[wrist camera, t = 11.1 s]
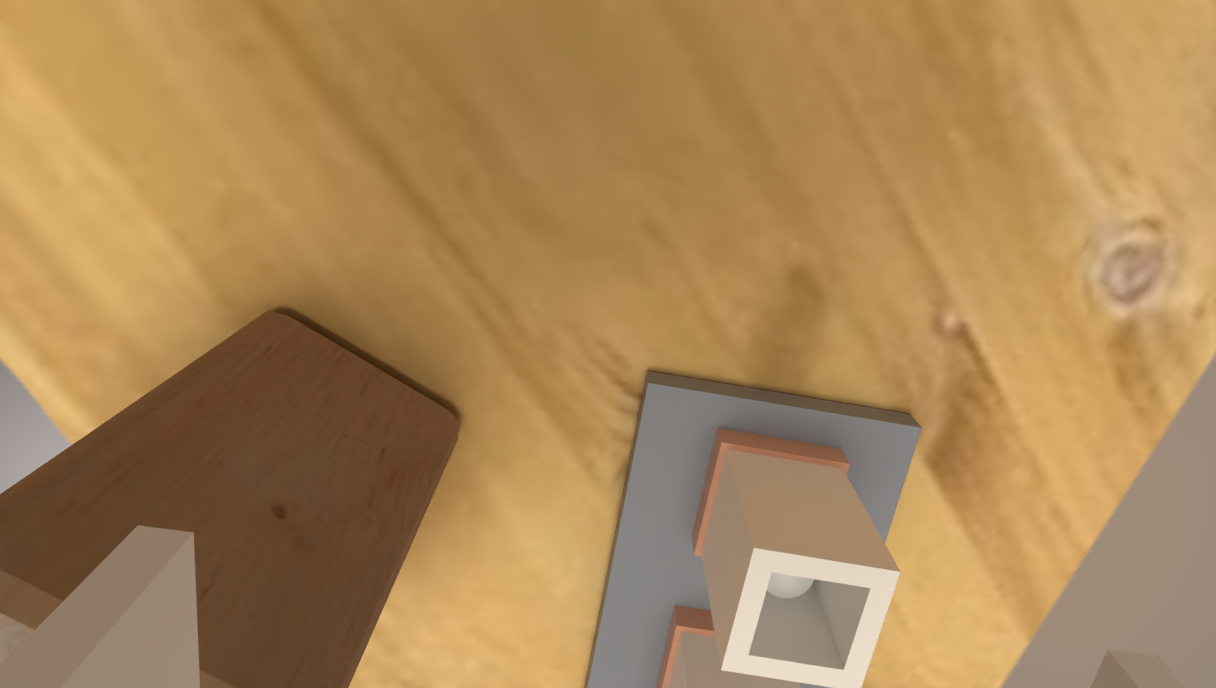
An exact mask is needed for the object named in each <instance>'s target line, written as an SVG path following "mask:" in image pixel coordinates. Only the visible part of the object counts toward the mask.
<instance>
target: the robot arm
mask: <svg viewBox="0 0 1216 688" xmlns="http://www.w3.org/2000/svg"><path fill="white" fill-rule="evenodd" d="M0 688H200V674H199V650H198V625H197V601H196V576H195V552H194V532H186V531H178V530H170V529H162V528H155V527H147V526H139V525H138V526H137V527H136V528H135V529H134V530H133V531H132V532H131V533H130V534H129V535H128V536H127V537H126V538H125V539H124V540H123V541H122V542H121V543H120V544H119V545H118V546H117V547H116V548H115V549H114V550H113V551H112V552H111V553H110V554H109V555H108V556H107V557H106V558H105V559H104V560H103V561H102V562H101V563H100V564H99V565H98V566H97V568H96V569H95V570H94V571H93V572H92V573H91V574H90V575H89V576H88V577H87V578H86V579H85V580H84V581H83V582H82V583H81V584H80V585H79V586H78V587H77V588H76V589H75V590H74V591H73V592H72V593H71V594H70V595H69V596H68V597H67V598H66V599H65V600H64V601H63V602H62V603H61V604H60V605H59V606H58V607H57V608H56V609H55V610H54V611H53V612H52V613H51V614H50V615H49V616H48V617H47V618H46V619H45V620H44V621H43V622H42V623H41V624H40V625H39V626H38V627H37V629H36V630H35V631H34V632H33V633H32V634H31V635H30V636H29V637H28V638H27V639H26V640H25V641H24V642H23V643H22V644H21V645H20V646H19V647H18V648H17V649H16V650H15V651H14V652H13V653H12V654H11V655H10V656H9V657H8V658H7V659H6V660H5V661H4V662H3V663H2V664H1V665H0ZM1091 688H1186V686H1185V685H1184V684H1183V683H1182V682H1181V681H1180V679H1179V678H1178V677H1177V676H1176V675H1175V674H1174V673H1173V671H1172V670H1171V669H1170V668H1169V667H1168V666H1167V665H1166V663H1164V661H1163V660H1162V659H1161V658H1160V656H1157V655H1149V654H1141V653H1133V652H1125V651H1117V650H1110V649H1108V650H1107V653H1106V655H1105V657H1104V659H1103V662H1102V664H1101V666H1100V668H1099V671H1098V673H1097V675H1096V677H1095V680H1094V682H1093V684H1092V686H1091Z"/></svg>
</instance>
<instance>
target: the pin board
mask: <svg viewBox="0 0 1216 688" xmlns="http://www.w3.org/2000/svg"><path fill="white" fill-rule="evenodd" d="M717 427H718V428H724V429H730V430H736V431H742V432H748V433H754V434H760V435H766V436H771V437H777V438H783V439H789V440H795V441H801V442H807V443H813V444H819V445H825V446H830V447H836V448H841V449H842V451H843V453H844V454H845V456H846V458H847V460H848V461H849V463H850V466H849V469H848V472H847V477H848V479H849V480H850V482H851V484H852V486H853V488H854V489H855V491H856V493H857V495H858V497H859V498H860V500H861V502H862V504H863V506H864V507H865V509H866V511H867V513H868V515H869V516H870V518H871V520H872V522H873V524H874V525H875V527H876V529H877V531H878V532H879V534H880V536H881V538H882V540H883V541H884V543H885V541H886V538H887V535H888V532H889V529H890V525H891V522H892V519H893V516H894V513H895V510H896V507H897V503H898V500H899V497H900V494H901V491H902V488H903V485H904V481H905V478H906V475H907V472H908V469H909V466H910V463H911V460H912V456H913V453H914V450H915V447H916V444H917V441H918V438H919V434H920V431H921V426H920V425H919V424H918V423H917V422H916V420H915V419H914V418H913V417H912V416H911V414H908V413H901V412H895V411H889V410H883V409H877V408H871V407H865V406H859V405H853V404H847V403H841V402H835V401H829V400H822V399H816V398H810V397H804V396H798V395H792V394H786V393H780V392H774V391H768V390H762V389H756V388H750V387H743V386H737V385H731V384H725V383H719V382H713V381H707V380H701V379H695V378H689V377H683V376H677V375H671V374H665V373H658V372H652V371H647V374H646V379H645V384H644V389H643V394H642V399H641V404H640V409H639V414H638V419H637V424H636V430H635V435H634V440H633V445H632V450H631V455H630V460H629V465H628V470H627V475H626V480H625V485H624V490H623V495H622V500H621V505H620V510H619V516H618V521H617V526H616V531H615V536H614V541H613V546H612V551H611V556H610V561H609V566H608V571H607V576H606V581H605V586H604V591H603V597H602V602H601V607H600V612H599V617H598V622H597V627H596V632H595V637H594V642H593V647H592V652H591V657H590V662H589V667H588V672H587V678H586V683H585V688H655V687H656V683H657V678H658V674H659V670H660V665H661V661H662V657H663V652H664V648H665V644H666V639H667V635H668V631H669V626H670V622H671V618H672V614H673V609H674V605H678V606H685V607H691V608H698V609H704V610H711V608H710V602H709V596H708V590H707V584H706V578H705V573H704V567H703V561H702V556H698V555H694V551H693V545H692V538H691V535H692V531H693V527H694V523H695V519H696V515H697V510H698V506H699V502H700V498H701V494H702V490H703V486H704V481H705V477H706V473H707V469H708V465H709V461H710V456H711V452H712V448H713V444H714V440H715V436H716V432H717ZM813 582H814V579H810V578H804V577H798V576H792V575H786V574H780V573H774V572H772V573H771V577H770V580H769V584H768V587H767V591H768V592H769V593H770V594H772V595H774V596H776V597H779V598H785V599H786V598H794V597H798V596H800V595H802V594H804V593H805V592H806V591H807V590H808V589H809V588H810V587H811V586H812V584H813ZM799 684H800V687H801V688H832V687H825V686H819V685H812V684H806V683H800V682H799Z"/></svg>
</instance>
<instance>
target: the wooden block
mask: <svg viewBox="0 0 1216 688" xmlns="http://www.w3.org/2000/svg"><path fill="white" fill-rule="evenodd" d="M458 431H459V422H458V419H457V418H456V417H455V416H454V415H453V414H452V413H451V412H450V411H449V410H448V409H446V408H445V407H443V406H441V405H439V404H438V403H436V402H434V401H433V400H431V399H429V398H428V397H426V396H424V395H423V394H421V393H419V392H417V391H416V390H414V389H412V388H411V387H409V386H407V385H406V384H404V383H402V382H400V381H399V380H397V379H395V378H394V377H392V376H390V375H389V374H387V373H385V372H383V371H382V370H380V369H378V368H377V367H375V366H373V365H372V364H370V363H368V362H366V361H365V360H363V359H361V358H360V357H358V356H356V355H355V354H353V353H351V352H349V351H348V350H346V349H344V348H343V347H341V346H339V345H338V344H336V343H334V342H333V341H331V340H329V339H327V338H326V337H324V336H322V335H321V334H319V333H317V332H316V331H314V330H312V329H310V328H309V327H307V326H305V325H304V324H302V323H300V322H299V321H297V320H295V319H293V318H292V317H290V316H288V315H285V314H281V313H277V312H270V311H267V312H265V313H264V314H262V315H261V316H259V317H258V318H257V319H255V320H254V321H252V322H251V323H249V324H248V325H246V326H245V327H243V328H242V329H241V330H239V331H238V332H236V333H235V334H233V335H232V336H230V337H229V338H227V339H226V340H224V341H223V342H222V343H220V344H219V345H217V346H216V347H214V348H213V349H211V350H210V351H208V352H207V353H206V354H204V355H203V356H201V357H200V358H198V359H197V360H195V361H194V362H192V363H191V364H189V365H188V366H187V367H185V368H184V369H182V370H181V371H179V372H178V373H176V374H175V375H173V376H172V377H171V378H169V379H168V380H166V381H165V382H163V383H162V384H160V385H159V386H157V387H156V388H155V389H153V390H152V391H150V392H149V393H147V394H146V395H144V396H143V397H141V398H140V399H138V400H137V401H136V402H134V403H133V404H131V405H130V406H128V407H127V408H125V409H124V410H122V411H121V412H120V413H118V414H117V415H115V416H114V417H112V418H111V419H109V420H108V421H106V422H105V423H104V424H102V425H101V426H99V427H98V428H96V429H95V430H93V431H92V432H90V433H89V434H87V435H86V436H85V437H83V438H82V439H80V440H79V441H77V442H76V443H74V444H73V445H71V446H70V447H69V448H67V449H66V450H64V451H63V452H61V453H60V454H58V455H57V456H55V457H54V458H52V459H51V460H50V461H48V462H47V463H45V464H44V465H42V466H41V467H39V468H38V469H36V470H35V471H34V472H32V473H31V474H30V475H28V476H26V477H25V478H23V479H22V480H21V481H19V482H18V483H16V484H15V485H13V486H12V487H10V488H9V489H7V490H6V491H5V492H3V493H2V494H0V665H1V664H2V663H3V662H4V661H5V660H6V659H7V658H8V657H9V656H10V655H11V654H12V653H13V652H14V651H15V650H16V649H17V648H18V647H19V646H20V645H21V644H22V643H23V642H24V641H25V640H26V639H27V638H28V637H29V636H30V635H31V634H32V633H33V632H34V631H35V630H36V629H37V627H38V626H39V625H40V624H41V623H42V622H43V621H44V620H45V619H46V618H47V617H48V616H49V615H50V614H51V613H52V612H53V611H54V610H55V609H56V608H57V607H58V606H59V605H60V604H61V603H62V602H63V601H64V600H65V599H66V598H67V597H68V596H69V595H70V594H71V593H72V592H73V591H74V590H75V589H76V588H77V587H78V586H79V585H80V584H81V583H82V582H83V581H84V580H85V579H86V578H87V577H88V576H89V575H90V574H91V573H92V572H93V571H94V570H95V569H96V568H97V566H98V565H99V564H100V563H101V562H102V561H103V560H104V559H105V558H106V557H107V556H108V555H109V554H110V553H111V552H112V551H113V550H114V549H115V548H116V547H117V546H118V545H119V544H120V543H121V542H122V541H123V540H124V539H125V538H126V537H127V536H128V535H129V534H130V533H131V532H132V531H133V530H134V529H135V528H136V527H137V526H138V525H139V526H147V527H155V528H162V529H170V530H178V531H186V532H194V552H195V576H196V601H197V625H198V650H199V674H200V688H348V687H349V685H350V682H351V680H352V678H353V676H354V673H355V671H356V669H357V667H358V664H359V662H360V660H361V657H362V655H363V653H364V651H365V648H366V646H367V644H368V642H369V639H370V637H371V635H372V632H373V630H374V628H375V626H376V623H377V621H378V619H379V616H380V614H381V612H382V610H383V607H384V605H385V603H386V601H387V598H388V596H389V594H390V591H391V589H392V587H393V585H394V582H395V580H396V578H397V576H398V573H399V571H400V569H401V566H402V564H403V562H404V560H405V557H406V555H407V553H408V551H409V548H410V546H411V544H412V541H413V539H414V537H415V535H416V532H417V530H418V528H419V526H420V523H421V521H422V519H423V516H424V514H425V512H426V510H427V507H428V505H429V503H430V500H431V498H432V496H433V494H434V491H435V489H436V487H437V485H438V482H439V480H440V478H441V475H442V473H443V471H444V469H445V466H446V464H447V462H448V460H449V457H450V455H451V453H452V450H453V448H454V446H455V444H456V441H457V437H458Z"/></svg>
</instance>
